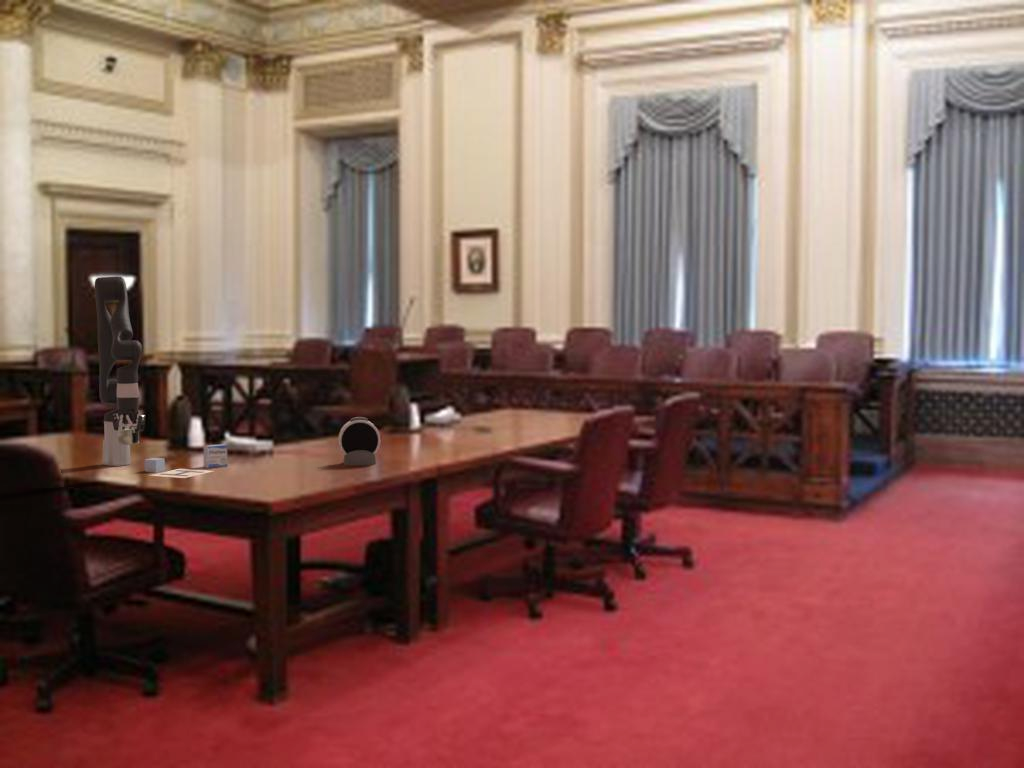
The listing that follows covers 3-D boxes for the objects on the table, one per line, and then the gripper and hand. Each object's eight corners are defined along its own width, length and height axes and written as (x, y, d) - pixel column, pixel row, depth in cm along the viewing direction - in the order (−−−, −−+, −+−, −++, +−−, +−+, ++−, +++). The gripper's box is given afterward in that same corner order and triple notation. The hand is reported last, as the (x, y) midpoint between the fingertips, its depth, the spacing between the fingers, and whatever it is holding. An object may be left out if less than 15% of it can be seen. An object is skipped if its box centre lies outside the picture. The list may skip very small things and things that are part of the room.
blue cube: (145, 472, 435) (144, 459, 434) (154, 470, 439) (153, 457, 439) (156, 473, 433) (155, 460, 432) (164, 471, 437) (164, 458, 437)
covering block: (118, 444, 419) (118, 430, 419) (128, 442, 424) (127, 428, 424) (129, 444, 418) (129, 430, 417) (139, 443, 422) (138, 429, 422)
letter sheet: (148, 476, 425) (148, 475, 425) (179, 469, 442) (179, 468, 442) (184, 479, 419) (184, 477, 419) (214, 472, 436) (214, 470, 436)
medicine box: (207, 469, 443) (207, 446, 443) (203, 467, 447) (203, 445, 446) (227, 467, 448) (227, 444, 447) (223, 465, 452) (222, 443, 451)
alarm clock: (339, 465, 451) (338, 418, 450) (338, 462, 461) (337, 416, 460) (381, 464, 455) (380, 418, 453) (379, 460, 465) (378, 415, 463)
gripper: (104, 396, 419) (105, 443, 420) (136, 397, 413) (138, 444, 415) (119, 394, 426) (120, 440, 427) (150, 395, 420) (152, 442, 422)
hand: (129, 442), depth 421 cm, fingers closed on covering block, 5 cm apart
